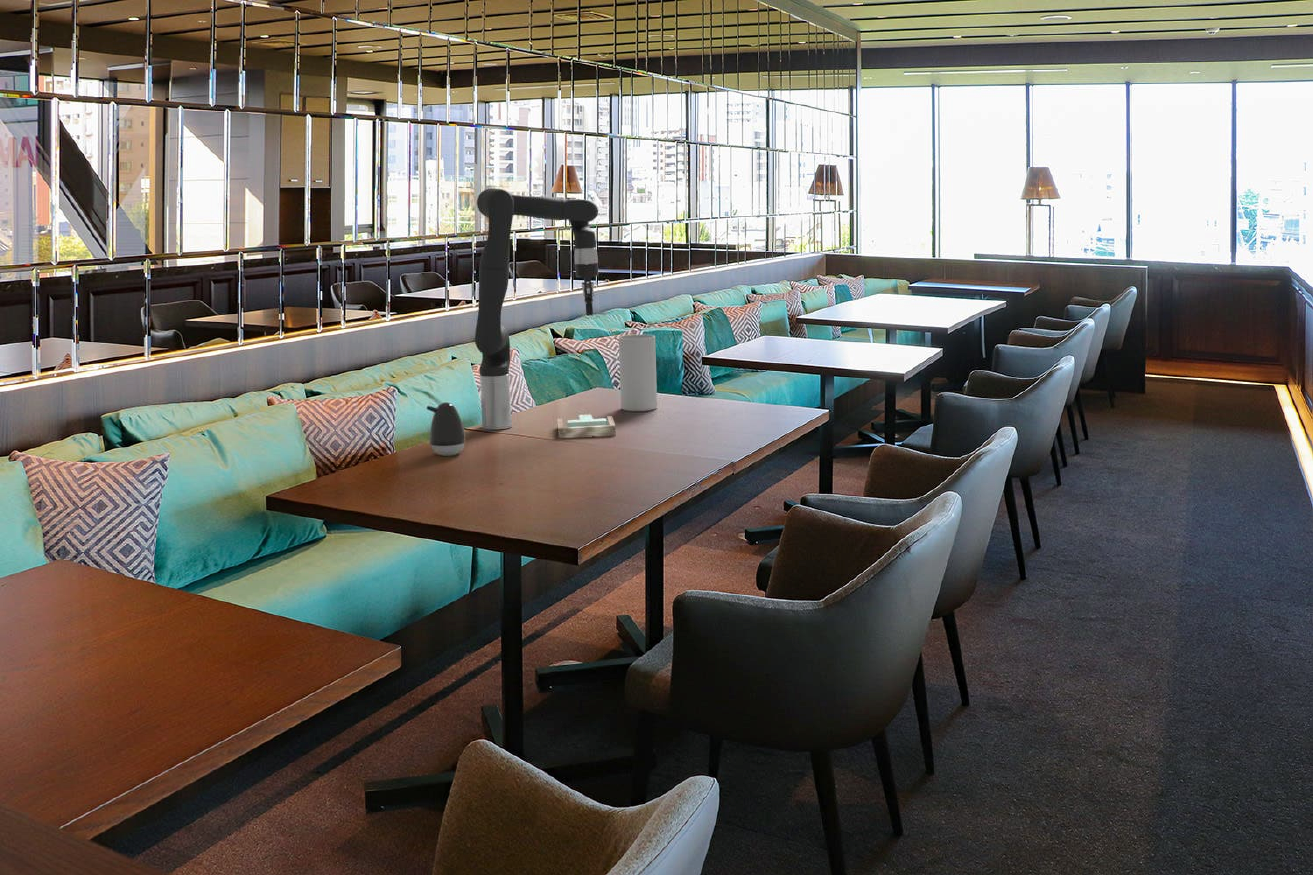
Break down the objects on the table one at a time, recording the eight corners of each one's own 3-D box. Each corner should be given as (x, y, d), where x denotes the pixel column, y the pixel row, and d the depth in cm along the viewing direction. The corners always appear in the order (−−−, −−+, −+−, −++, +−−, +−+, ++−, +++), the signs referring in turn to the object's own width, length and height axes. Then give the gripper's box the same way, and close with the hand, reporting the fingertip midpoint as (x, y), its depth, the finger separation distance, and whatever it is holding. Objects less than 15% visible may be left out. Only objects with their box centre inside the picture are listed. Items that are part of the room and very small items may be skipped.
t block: (566, 427, 355) (566, 415, 354) (604, 426, 357) (603, 413, 356) (568, 435, 343) (567, 422, 343) (607, 433, 345) (606, 420, 344)
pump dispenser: (432, 451, 326) (428, 400, 323) (467, 449, 327) (464, 398, 324) (427, 458, 316) (424, 406, 313) (464, 457, 317) (461, 404, 314)
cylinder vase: (656, 411, 379) (654, 338, 374) (620, 412, 379) (617, 339, 374) (657, 405, 391) (655, 334, 386) (621, 405, 391) (619, 335, 386)
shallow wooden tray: (558, 438, 339) (558, 428, 339) (557, 427, 355) (557, 418, 355) (615, 435, 341) (615, 425, 340) (612, 425, 357) (611, 416, 357)
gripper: (574, 261, 371) (578, 313, 374) (575, 263, 358) (578, 317, 361) (597, 260, 371) (600, 312, 375) (598, 262, 358) (601, 316, 362)
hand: (589, 315), depth 368 cm, fingers closed
